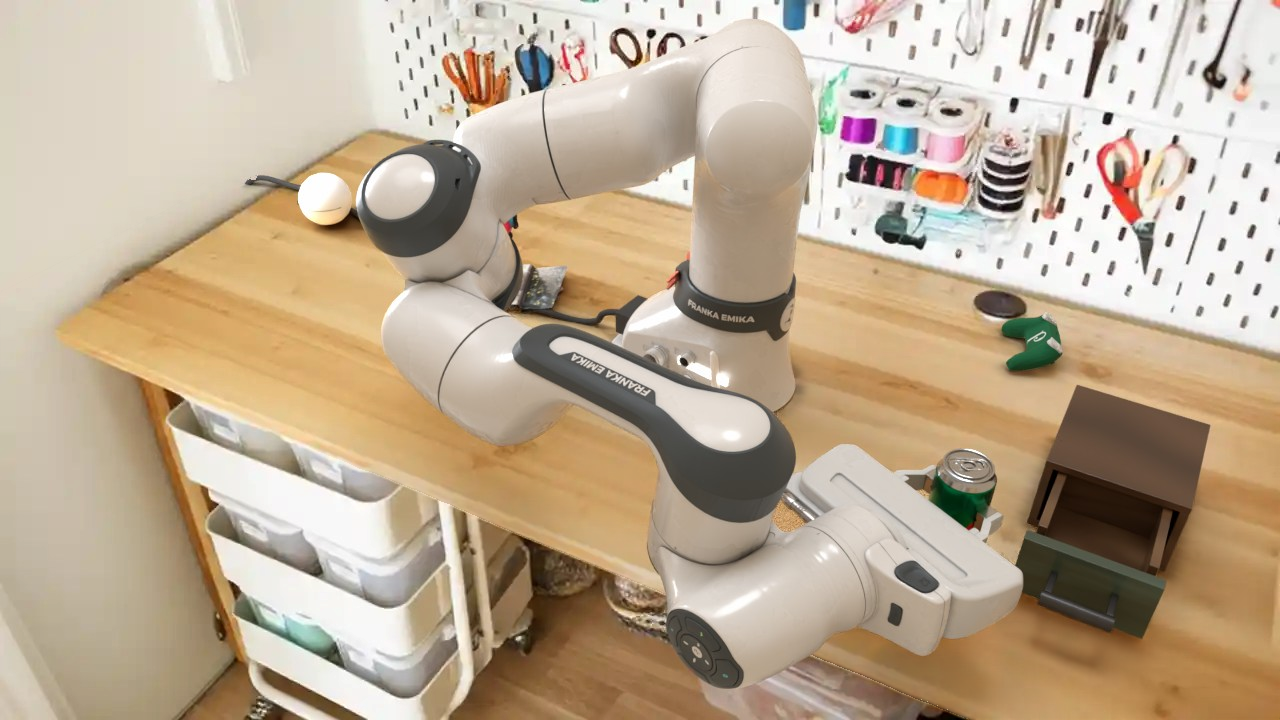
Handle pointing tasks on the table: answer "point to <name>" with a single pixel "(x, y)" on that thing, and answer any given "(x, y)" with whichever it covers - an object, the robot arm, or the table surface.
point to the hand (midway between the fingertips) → (967, 495)
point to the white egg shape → (325, 198)
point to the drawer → (1096, 556)
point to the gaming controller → (1034, 342)
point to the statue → (537, 281)
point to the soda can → (963, 485)
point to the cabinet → (1128, 455)
